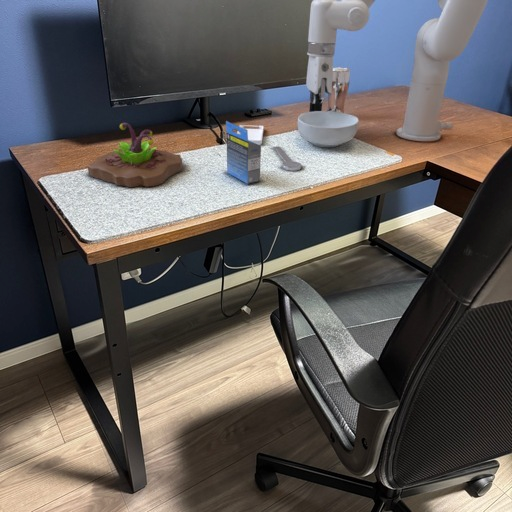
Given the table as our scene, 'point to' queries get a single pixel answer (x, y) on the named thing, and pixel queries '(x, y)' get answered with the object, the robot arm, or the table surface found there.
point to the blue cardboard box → (242, 155)
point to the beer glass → (339, 89)
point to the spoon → (287, 161)
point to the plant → (136, 163)
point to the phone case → (254, 134)
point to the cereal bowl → (327, 127)
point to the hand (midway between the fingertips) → (314, 116)
